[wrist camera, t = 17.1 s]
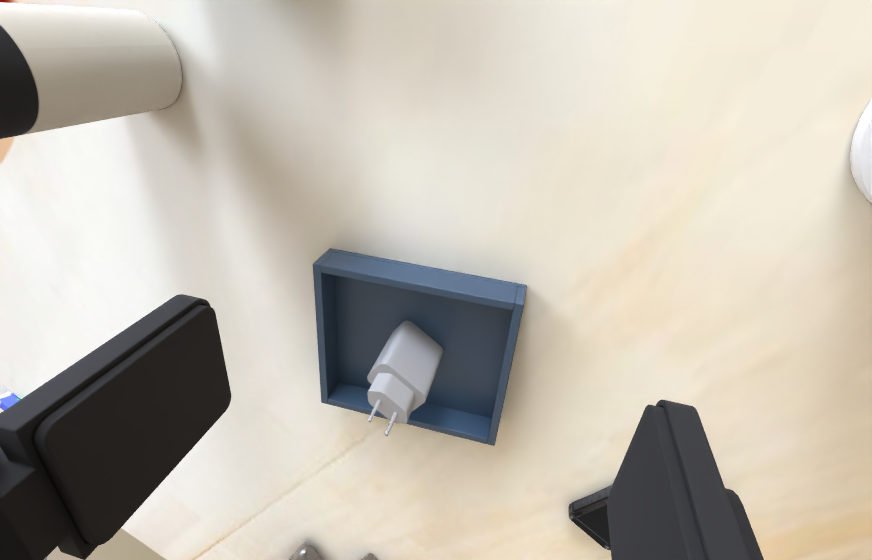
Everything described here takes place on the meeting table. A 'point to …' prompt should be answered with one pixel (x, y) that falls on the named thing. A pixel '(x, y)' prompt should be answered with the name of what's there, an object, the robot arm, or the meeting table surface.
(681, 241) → the meeting table surface
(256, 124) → the meeting table surface
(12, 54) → the travel mug
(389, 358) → the power adapter
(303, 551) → the emblem
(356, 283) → the tray
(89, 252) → the meeting table surface
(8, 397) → the eraser
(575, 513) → the phone
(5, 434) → the robot arm
